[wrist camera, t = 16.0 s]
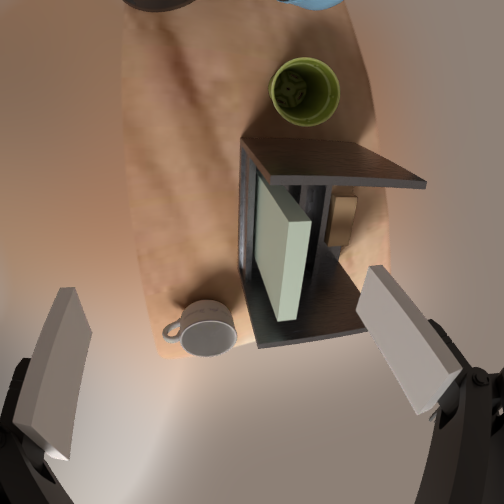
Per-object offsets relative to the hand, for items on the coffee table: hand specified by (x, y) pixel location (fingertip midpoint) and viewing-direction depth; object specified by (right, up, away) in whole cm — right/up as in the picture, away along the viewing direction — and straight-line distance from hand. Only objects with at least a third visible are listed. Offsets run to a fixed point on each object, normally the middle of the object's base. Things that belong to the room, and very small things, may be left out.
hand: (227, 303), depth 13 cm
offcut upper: (+16, +8, +38) cm, 42 cm away
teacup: (-10, -10, +48) cm, 50 cm away
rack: (+8, +10, +40) cm, 42 cm away
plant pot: (+6, +27, +29) cm, 40 cm away
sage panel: (+3, +9, +37) cm, 38 cm away
